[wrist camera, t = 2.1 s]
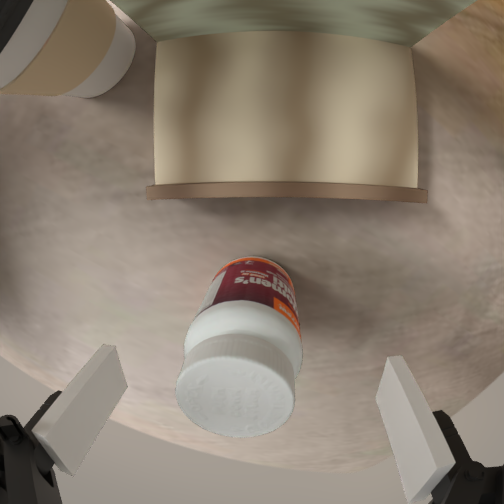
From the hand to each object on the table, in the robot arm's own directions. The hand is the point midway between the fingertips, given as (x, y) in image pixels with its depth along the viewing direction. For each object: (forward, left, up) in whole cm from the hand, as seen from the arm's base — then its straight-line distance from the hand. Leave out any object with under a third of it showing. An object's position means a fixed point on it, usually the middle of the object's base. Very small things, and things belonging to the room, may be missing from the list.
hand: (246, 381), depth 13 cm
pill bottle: (0, 0, -10) cm, 10 cm away
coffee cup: (-12, +19, -10) cm, 25 cm away
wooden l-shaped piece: (+2, +14, -10) cm, 17 cm away
